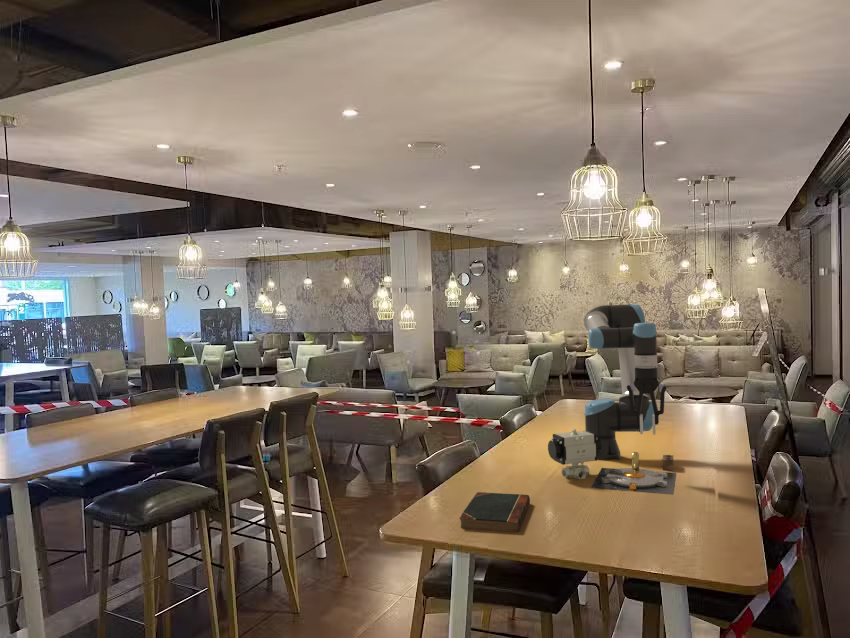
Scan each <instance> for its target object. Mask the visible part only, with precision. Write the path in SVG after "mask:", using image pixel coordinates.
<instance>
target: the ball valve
mask: <svg viewBox="0 0 850 638" xmlns="http://www.w3.org/2000/svg"><path fill="white" fill-rule="evenodd" d="M547 444H548V445H547V451H548V455H549V457H550V458H551V459H552V460H553V461H555V462H557V463H558V464H561V465H566V466H565V467H562V469H561V475H562V477H563V478H565V479H567V478H569V479H572V478H573V479H577V480H584V479H586V478H587V476H589V475H590V468H589V466H588V465H587V464H586V465H584V463H589V462H595V461H596V462H597V461H598V460H597V457H598V454H600V452H601V450H602V445H601V441H600V439H599V437H598V436H596V434H594V433H591V432H589V431H585V430H580V431H578V430H577V429H576V428H572V430H571V431H569V432H560V433H552V438H551V440H549V441H548V443H547Z"/></svg>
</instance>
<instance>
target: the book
mask: <svg viewBox="0 0 850 638" xmlns="http://www.w3.org/2000/svg"><path fill="white" fill-rule="evenodd" d="M530 504H531V497H530V495H529V494H522V493H521V494H520V493H500V492H498V493H497V492H485V491H483V492H481V491H479V492H476V493H475V494H474V496H473V498H471V501H470V502H468V503H467V506H466V507H465V509H464V510H463V512H462V513H461V514H460V516H459V520H460V528H461V529H474V530H475V529H476V530H488V531H500V532H501V531H502V532H503V531H504V532H514V533H515V532H517V533H518V532H519V530H520V528H521V526H522V524H523V521H524V518H525V517H526V513H527V511H528V509H529V506H530Z"/></svg>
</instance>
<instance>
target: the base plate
mask: <svg viewBox="0 0 850 638" xmlns="http://www.w3.org/2000/svg"><path fill="white" fill-rule="evenodd" d="M606 469H612V470H615V469H616V468H611V467H610V468H609V467H601V468H600V470H599V472H598V474H597V475H596V477H595V479H594V481H593V483H592V484H591V487H590V489H595V490H596V489H599V490H609V491H622V492H636V493H648V494H649V493H650V494H658V495H659V494H660V495H671V496H673V495H674V493H675V492H674V491H675V485H676V478H677V472H672V471H669V472H668V471H665V472H666V473H667V478H663V481H667V486H665V487H661V486H654V487H645V488H636V490H634V489H630V487H625V486H619V485H616V484H613V483H603V482H602V477H607V474H605V470H606ZM654 471H655V470H654ZM655 472H657V470H656V471H655Z"/></svg>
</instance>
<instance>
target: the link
mask: <svg viewBox="0 0 850 638" xmlns="http://www.w3.org/2000/svg"><path fill="white" fill-rule="evenodd" d="M661 459H662V460H661V461H662V466H661V467H662V471H666V472H668V471H669V472H673V471H674V466H675V464H674V463H675V462H674V455H671V454H662V458H661Z"/></svg>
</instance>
